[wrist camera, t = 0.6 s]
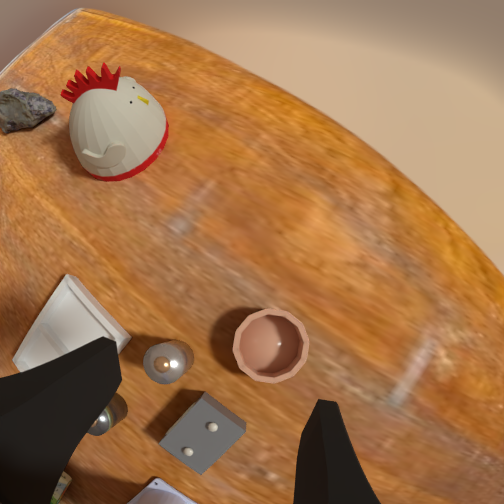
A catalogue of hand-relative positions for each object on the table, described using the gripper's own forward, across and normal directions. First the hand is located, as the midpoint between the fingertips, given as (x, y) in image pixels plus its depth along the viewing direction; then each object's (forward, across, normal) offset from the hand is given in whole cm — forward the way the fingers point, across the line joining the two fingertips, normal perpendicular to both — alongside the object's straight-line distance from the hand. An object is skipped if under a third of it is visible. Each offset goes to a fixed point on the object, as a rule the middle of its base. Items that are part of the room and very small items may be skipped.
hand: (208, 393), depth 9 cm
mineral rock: (+30, +48, -9) cm, 57 cm away
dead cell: (+17, +8, +16) cm, 25 cm away
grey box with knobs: (+13, +3, +23) cm, 27 cm away
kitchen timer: (+31, +25, -6) cm, 40 cm away
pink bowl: (+20, -2, +13) cm, 24 cm away
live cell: (+12, +15, +23) cm, 30 cm away
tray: (+14, +22, +19) cm, 32 cm away
